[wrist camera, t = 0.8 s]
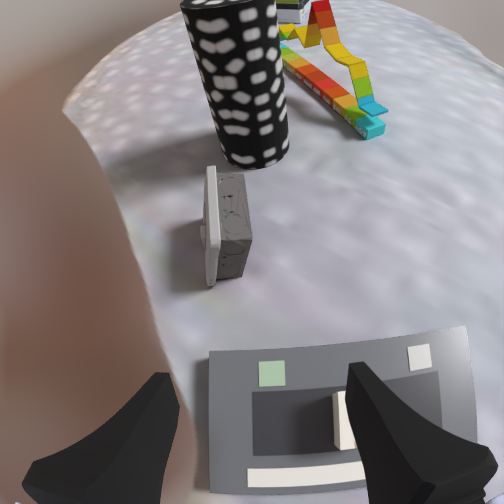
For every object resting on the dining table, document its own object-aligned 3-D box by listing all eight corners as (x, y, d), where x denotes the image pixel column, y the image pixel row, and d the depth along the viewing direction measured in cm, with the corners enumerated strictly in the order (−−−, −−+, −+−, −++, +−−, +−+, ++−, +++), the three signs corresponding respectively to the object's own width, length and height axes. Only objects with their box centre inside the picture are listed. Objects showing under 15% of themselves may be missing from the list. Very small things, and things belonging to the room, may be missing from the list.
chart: (259, 50, 52) (248, -19, 39) (274, 46, 52) (265, -23, 39) (364, 142, 37) (377, 37, 24) (383, 135, 38) (400, 34, 25)
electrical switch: (204, 217, 35) (189, 164, 27) (246, 212, 35) (241, 158, 28) (207, 290, 31) (189, 247, 24) (256, 284, 31) (252, 240, 24)
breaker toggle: (373, 439, 20) (386, 443, 17) (334, 444, 20) (340, 450, 17) (371, 389, 22) (383, 385, 18) (332, 394, 22) (338, 391, 19)
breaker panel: (464, 455, 19) (477, 457, 17) (217, 486, 22) (209, 492, 20) (453, 332, 25) (465, 324, 23) (216, 356, 28) (208, 350, 25)
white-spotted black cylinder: (239, 179, 36) (196, 16, 19) (212, 139, 40) (170, 0, 23) (302, 152, 37) (292, -8, 20) (269, 116, 41) (248, -22, 24)
